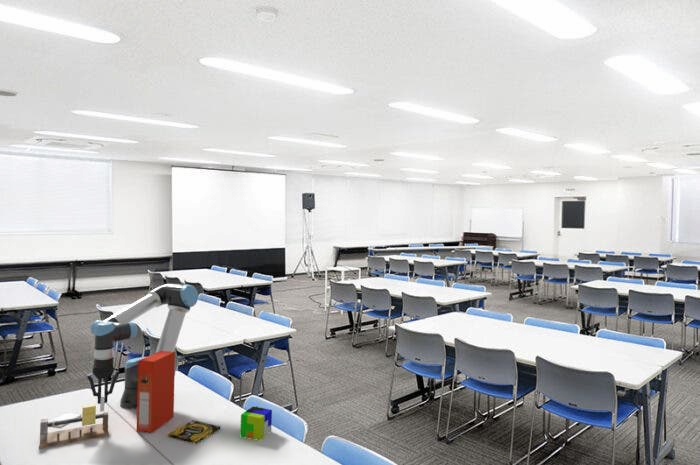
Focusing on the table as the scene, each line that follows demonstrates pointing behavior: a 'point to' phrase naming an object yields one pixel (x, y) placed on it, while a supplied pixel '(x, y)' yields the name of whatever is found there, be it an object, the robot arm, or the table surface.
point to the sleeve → (88, 415)
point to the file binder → (155, 391)
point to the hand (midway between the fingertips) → (102, 410)
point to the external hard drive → (66, 416)
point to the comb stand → (71, 431)
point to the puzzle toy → (256, 423)
